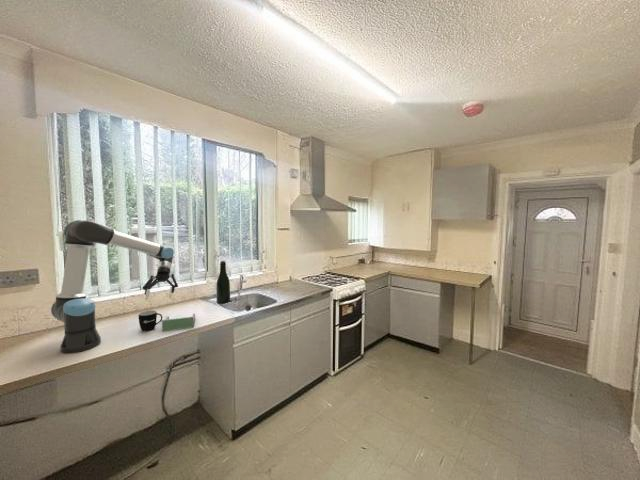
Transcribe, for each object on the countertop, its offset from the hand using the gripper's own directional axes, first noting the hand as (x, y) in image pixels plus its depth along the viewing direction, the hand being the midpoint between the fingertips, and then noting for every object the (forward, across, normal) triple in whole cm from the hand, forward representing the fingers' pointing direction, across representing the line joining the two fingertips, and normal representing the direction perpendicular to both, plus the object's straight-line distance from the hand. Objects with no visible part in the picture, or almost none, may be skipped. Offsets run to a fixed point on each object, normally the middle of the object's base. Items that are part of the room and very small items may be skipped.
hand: (158, 298), depth 164 cm
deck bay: (+16, -13, -6) cm, 21 cm away
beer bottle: (-12, -32, -41) cm, 54 cm away
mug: (+18, +2, -3) cm, 19 cm away
